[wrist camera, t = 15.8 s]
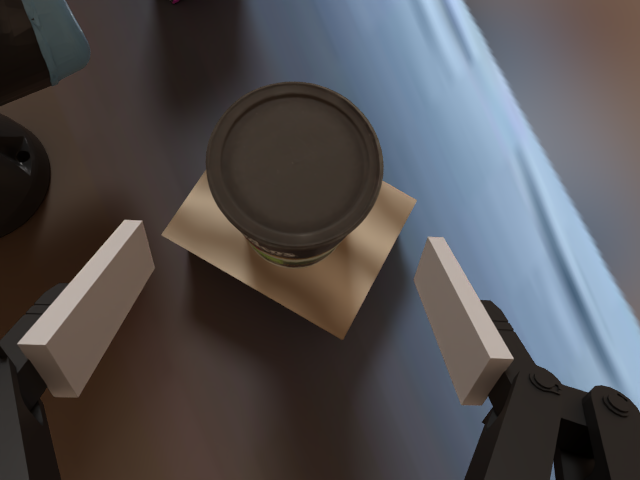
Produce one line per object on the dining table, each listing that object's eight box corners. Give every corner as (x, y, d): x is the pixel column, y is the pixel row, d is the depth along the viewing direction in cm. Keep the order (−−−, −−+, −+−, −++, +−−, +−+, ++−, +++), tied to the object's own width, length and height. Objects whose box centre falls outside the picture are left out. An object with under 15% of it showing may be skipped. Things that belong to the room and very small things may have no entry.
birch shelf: (333, 332, 38) (342, 340, 31) (185, 245, 38) (161, 234, 32) (396, 216, 41) (416, 200, 34) (257, 137, 41) (250, 105, 35)
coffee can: (299, 291, 32) (304, 288, 18) (220, 221, 32) (165, 165, 18) (367, 214, 34) (419, 157, 20) (291, 149, 34) (289, 48, 20)
